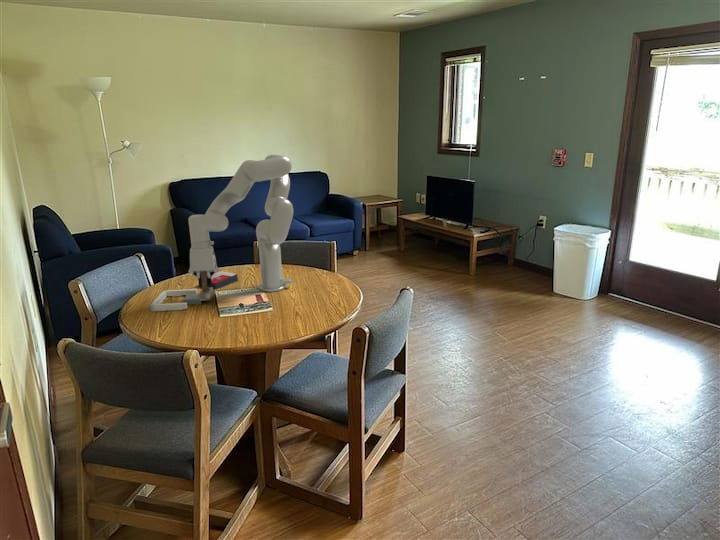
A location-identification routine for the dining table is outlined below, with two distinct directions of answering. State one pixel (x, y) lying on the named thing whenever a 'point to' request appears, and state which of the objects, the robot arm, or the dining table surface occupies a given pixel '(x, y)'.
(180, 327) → the dining table surface
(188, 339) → the dining table surface
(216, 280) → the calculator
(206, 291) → the scraper
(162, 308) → the bay
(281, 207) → the robot arm
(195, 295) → the tile
